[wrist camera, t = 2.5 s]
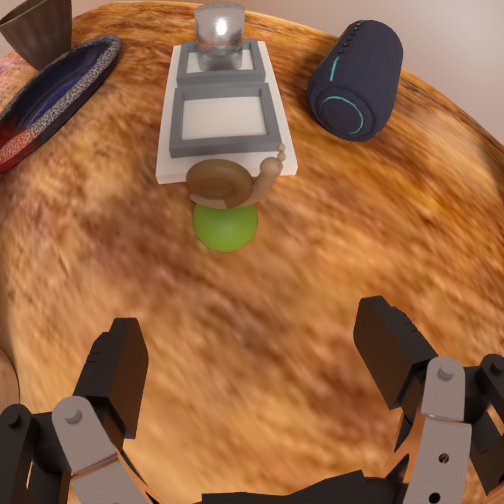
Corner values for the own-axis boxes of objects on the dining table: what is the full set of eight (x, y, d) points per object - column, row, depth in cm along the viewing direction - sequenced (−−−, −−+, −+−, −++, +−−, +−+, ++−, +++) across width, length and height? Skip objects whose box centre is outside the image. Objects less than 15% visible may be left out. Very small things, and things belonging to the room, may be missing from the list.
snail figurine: (266, 261, 26) (289, 189, 15) (194, 259, 26) (166, 185, 15) (266, 207, 28) (284, 117, 17) (199, 205, 28) (181, 114, 17)
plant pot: (102, 38, 40) (85, -25, 25) (55, 83, 35) (25, 14, 20) (55, 44, 41) (36, -7, 26) (12, 87, 36) (-17, 33, 21)
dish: (150, 56, 37) (145, 32, 33) (12, 204, 27) (-10, 184, 22) (92, 49, 39) (86, 29, 34) (-24, 171, 29) (-40, 154, 24)
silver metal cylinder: (197, 76, 33) (193, 19, 24) (198, 55, 35) (195, 3, 26) (243, 74, 33) (246, 17, 25) (240, 52, 35) (242, 1, 27)
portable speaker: (340, 50, 40) (354, 5, 31) (392, 73, 39) (412, 31, 30) (289, 129, 32) (305, 61, 23) (367, 165, 31) (404, 105, 22)
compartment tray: (158, 184, 28) (152, 167, 26) (174, 53, 37) (172, 38, 34) (295, 175, 30) (300, 157, 27) (263, 48, 38) (264, 33, 36)
